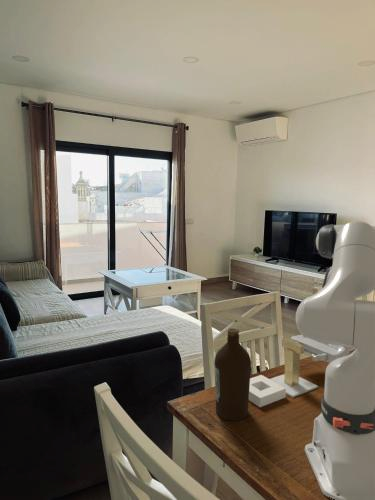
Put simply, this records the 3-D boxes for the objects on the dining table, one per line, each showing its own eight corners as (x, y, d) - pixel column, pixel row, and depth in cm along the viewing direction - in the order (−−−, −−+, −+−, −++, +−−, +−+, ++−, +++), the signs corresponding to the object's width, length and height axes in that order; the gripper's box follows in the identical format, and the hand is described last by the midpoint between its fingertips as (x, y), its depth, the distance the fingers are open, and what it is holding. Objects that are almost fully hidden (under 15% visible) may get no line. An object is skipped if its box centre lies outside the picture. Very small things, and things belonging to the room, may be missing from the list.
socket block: (285, 397, 114) (285, 388, 114) (259, 407, 109) (259, 398, 108) (261, 383, 124) (261, 374, 123) (236, 391, 118) (236, 382, 118)
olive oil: (248, 403, 111) (250, 324, 108) (251, 423, 101) (253, 337, 98) (214, 401, 112) (215, 323, 109) (213, 421, 102) (214, 335, 99)
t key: (304, 386, 120) (306, 345, 118) (297, 389, 118) (299, 347, 116) (286, 377, 127) (287, 337, 125) (279, 379, 125) (280, 339, 123)
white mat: (317, 387, 121) (317, 385, 121) (292, 397, 114) (292, 395, 114) (290, 373, 131) (290, 372, 131) (265, 381, 124) (265, 380, 124)
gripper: (305, 328, 140) (280, 335, 133) (353, 346, 123) (327, 355, 115) (304, 344, 141) (279, 351, 133) (352, 363, 123) (326, 373, 116)
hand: (302, 353), depth 124 cm, fingers open, 8 cm apart
